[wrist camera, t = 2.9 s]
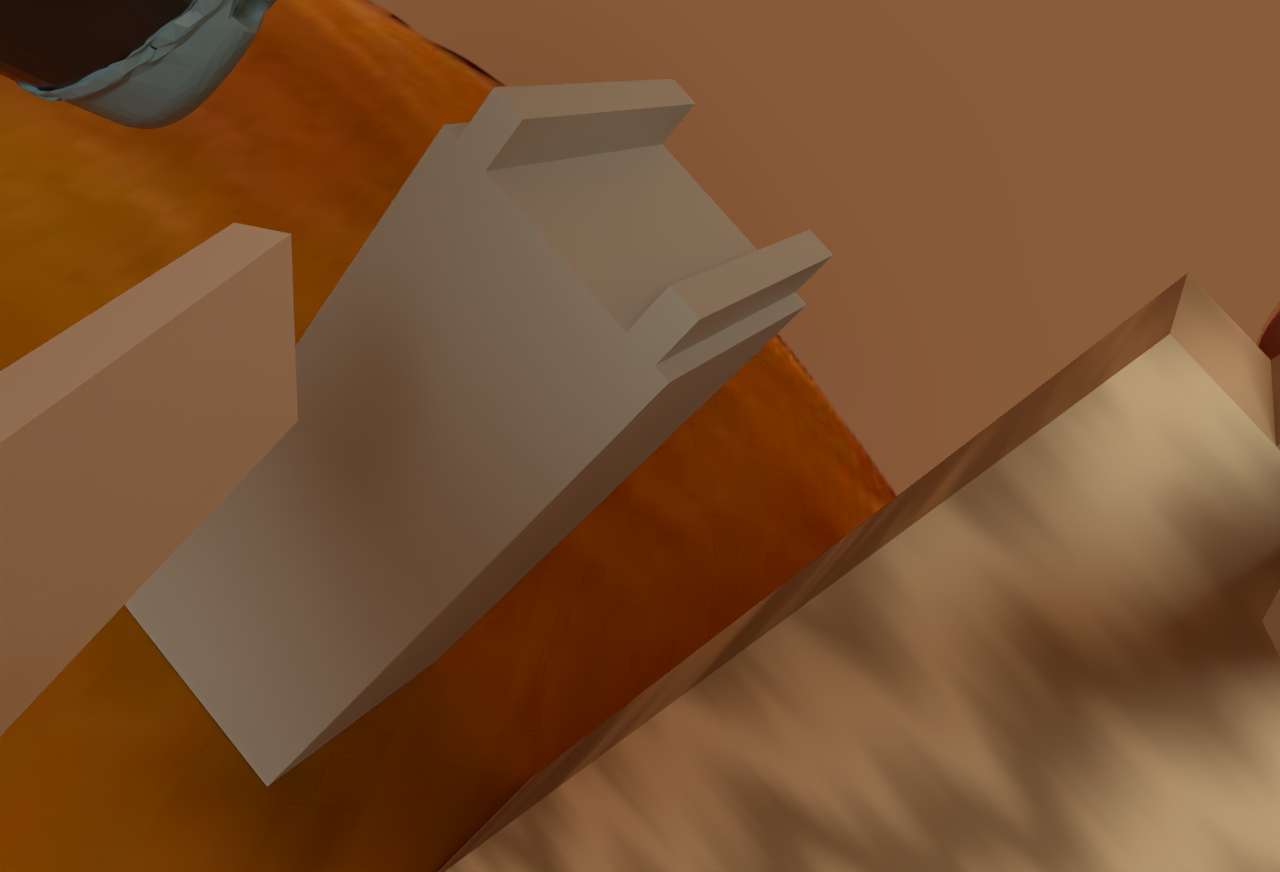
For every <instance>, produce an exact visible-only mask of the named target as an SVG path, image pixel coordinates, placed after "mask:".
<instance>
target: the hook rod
mask: <svg viewBox="0 0 1280 872" xmlns="http://www.w3.org/2000/svg"><path fill="white" fill-rule="evenodd" d="M1256 345H1257V346H1258V347H1259V348H1260V349H1261V350H1262V352H1263V353H1264V354H1265V355H1266V356H1267V357H1268V358H1269V359H1270V360H1272V359H1273V358H1275V357H1276V356H1278V355H1279V354H1280V302H1279V304H1278V305H1277V306H1276V307H1275V309H1274V310H1273V311H1272V313H1271V314H1270V316H1269V318H1268V319H1267V321H1266V323H1265V325H1264V327H1263V328H1262V331H1261V333H1260V336H1259V338H1258V341H1257V344H1256Z"/></svg>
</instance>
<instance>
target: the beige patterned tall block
mask: <svg viewBox="0 0 1280 872" xmlns="http://www.w3.org/2000/svg"><path fill="white" fill-rule="evenodd" d="M1279 589H1280V354H1279V355H1278V356H1276V357H1275V358H1273V359H1272V360H1270V359H1269V358H1268V357H1267V356H1266V355H1265V354H1264V353H1263V352H1262V350H1261V349H1260V348H1259V347H1258V346H1257V345H1256V344H1255V343H1254V342H1253V341H1252V340H1251V339H1250V338H1249V337H1248V336H1247V335H1246V334H1245V333H1244V332H1243V330H1242V329H1241V328H1240V327H1239V326H1238V325H1237V324H1236V323H1235V322H1234V321H1233V320H1232V319H1231V318H1230V317H1229V316H1228V315H1227V314H1226V313H1225V312H1224V311H1223V309H1222V308H1220V306H1219V305H1218V304H1217V303H1216V302H1215V301H1214V300H1213V299H1212V298H1211V297H1210V296H1209V295H1208V294H1207V293H1206V292H1205V291H1204V290H1203V288H1202V287H1201V286H1200V285H1199V284H1198V283H1197V282H1196V281H1195V280H1194V279H1193V278H1192V277H1191V276H1190V275H1189V274H1188V273H1187V274H1186V275H1184V276H1183V277H1182V278H1180V279H1179V280H1178V281H1177V282H1175V283H1174V284H1173V285H1171V286H1170V287H1169V288H1167V289H1166V290H1165V291H1164V292H1162V293H1161V294H1160V295H1158V296H1157V297H1156V298H1154V299H1153V300H1152V301H1151V302H1149V303H1148V304H1147V305H1145V306H1144V307H1143V308H1142V309H1140V310H1139V311H1138V312H1136V313H1135V314H1134V315H1132V316H1131V317H1130V318H1128V319H1127V320H1126V321H1125V322H1123V323H1122V324H1121V325H1119V326H1118V327H1117V328H1115V329H1114V330H1113V331H1112V332H1111V333H1109V334H1108V335H1106V336H1105V337H1104V338H1102V339H1101V340H1100V341H1099V342H1097V343H1096V344H1095V345H1093V346H1092V347H1091V348H1089V349H1088V350H1087V351H1086V352H1084V353H1083V354H1082V355H1080V356H1079V357H1078V358H1077V359H1075V360H1074V361H1073V362H1071V363H1070V364H1069V365H1067V366H1066V367H1065V368H1064V369H1062V370H1061V371H1060V372H1058V373H1057V374H1056V375H1054V376H1053V377H1052V378H1051V379H1049V380H1048V381H1047V382H1045V383H1044V384H1043V385H1041V386H1040V387H1039V388H1038V389H1036V390H1035V391H1034V392H1032V393H1031V394H1030V395H1028V396H1027V397H1026V398H1025V399H1023V400H1022V401H1021V402H1019V403H1018V404H1017V405H1015V406H1014V407H1013V408H1011V409H1010V410H1009V411H1008V412H1006V413H1005V414H1004V415H1003V416H1001V417H1000V418H998V419H997V420H996V421H995V422H993V423H992V424H991V425H989V426H988V427H987V428H985V429H984V430H983V431H982V432H980V433H979V434H978V435H976V436H975V437H974V438H973V439H971V440H970V441H969V442H967V443H966V444H965V445H963V446H962V447H961V448H959V449H958V450H957V451H955V452H954V453H953V454H952V455H950V456H949V457H948V458H946V459H945V460H944V461H942V462H941V463H940V464H939V465H938V466H936V467H935V468H933V469H932V470H931V471H930V472H928V473H927V474H926V475H924V476H923V477H922V478H921V479H919V480H918V481H917V482H915V483H914V484H913V485H911V486H910V487H909V488H907V489H906V490H905V491H903V492H902V493H901V494H900V495H898V496H897V497H896V498H894V499H893V500H892V501H890V502H889V503H888V504H887V505H885V506H884V507H883V508H881V509H880V510H879V511H877V512H876V513H875V514H874V515H872V516H871V517H870V518H868V519H867V520H866V521H864V522H863V523H862V524H861V525H859V526H858V527H857V528H855V529H854V530H853V531H851V532H850V533H849V534H848V535H846V536H845V537H844V538H842V539H841V540H840V541H838V542H837V543H836V544H835V545H833V546H832V547H831V548H829V549H828V550H827V551H825V552H824V553H823V554H822V555H820V556H819V557H818V558H816V559H815V560H814V561H812V562H811V563H810V564H809V565H807V566H806V567H805V568H803V569H802V570H801V571H799V572H798V573H797V574H796V575H794V576H793V577H792V578H790V579H789V580H788V581H786V582H785V583H784V584H783V585H781V586H780V587H779V588H777V589H776V590H775V591H773V592H772V593H771V594H770V595H768V596H767V597H766V598H764V599H763V600H762V601H760V602H759V603H758V604H757V605H755V606H754V607H753V608H751V609H750V610H749V611H747V612H746V613H745V614H744V615H742V616H741V617H740V618H738V619H737V620H736V621H734V622H733V623H732V624H731V625H729V626H728V627H727V628H725V629H724V630H723V631H721V632H720V633H719V634H718V635H716V636H715V637H714V638H712V639H711V640H710V641H708V642H707V643H706V644H705V645H703V646H702V647H701V648H699V649H698V650H697V651H695V652H694V653H693V654H692V655H690V656H689V657H688V658H686V659H685V660H684V661H682V662H681V663H680V664H679V665H677V666H676V667H675V668H673V669H672V670H671V671H669V672H668V673H667V674H666V675H664V676H663V677H662V678H660V679H659V680H658V681H656V682H655V683H654V684H653V685H651V686H650V687H649V688H647V689H646V690H645V691H643V692H642V693H641V694H640V695H638V696H637V697H636V698H634V699H633V700H632V701H630V702H629V703H628V704H627V705H625V706H624V707H623V708H621V709H620V710H619V711H617V712H616V713H615V714H613V715H612V716H611V717H610V718H608V719H607V720H606V721H604V722H603V723H602V724H600V725H599V726H598V727H597V728H595V729H594V730H593V731H591V732H590V733H589V734H587V735H586V736H585V737H584V738H582V739H581V740H580V741H578V742H577V743H576V744H574V745H573V746H572V747H571V748H569V749H568V750H567V751H565V752H564V753H563V754H561V755H560V756H559V757H558V758H556V759H555V760H554V761H552V762H551V763H550V764H548V765H547V766H546V767H545V768H543V769H542V770H541V771H539V772H538V773H537V774H535V775H534V776H533V777H532V778H530V779H529V780H528V781H527V782H526V783H525V784H524V785H523V786H522V787H521V788H520V789H519V790H518V791H517V792H516V793H515V794H514V795H513V796H512V797H511V798H510V799H509V800H508V801H507V802H506V804H505V805H504V806H503V807H502V808H501V809H500V810H499V811H498V812H497V813H496V814H495V815H494V816H493V817H492V818H491V819H490V820H489V821H488V822H487V823H486V824H485V825H484V826H483V827H482V828H481V829H480V830H479V831H478V832H477V833H476V834H475V835H474V836H473V837H472V838H471V839H470V840H469V841H468V842H467V843H466V844H465V845H464V846H463V847H462V848H461V849H460V850H459V851H458V852H457V853H456V854H455V855H454V856H453V857H452V858H451V859H450V860H449V861H448V862H447V863H446V864H445V865H444V866H443V867H442V868H441V869H440V870H439V871H438V872H1280V656H1279V654H1278V652H1277V650H1276V648H1275V646H1274V644H1273V642H1272V640H1271V638H1270V636H1269V634H1268V632H1267V630H1266V628H1265V626H1264V624H1263V622H1262V620H1263V618H1264V617H1265V615H1266V613H1267V611H1268V609H1269V607H1270V606H1271V604H1272V602H1273V600H1274V598H1275V596H1276V595H1277V593H1278V591H1279Z"/></svg>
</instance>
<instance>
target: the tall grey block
mask: <svg viewBox="0 0 1280 872" xmlns="http://www.w3.org/2000/svg"><path fill="white" fill-rule="evenodd" d="M694 105H695V103H694V102H693V101H692V100H691V98H690V97H689V96H688V95H687V94H686V93H685V92H684V91H683V89H682V88H680V86H679V85H678V84H677V83H676V82H675V81H674V80H673V79H663V80H641V81H617V82H595V83H574V84H553V85H552V84H550V85H528V86H506V87H494V88H493V89H492V91H491V92H490V93H489V95H488V96H487V98H486V99H485V101H484V102H483V104H482V105H481V107H480V108H479V110H478V111H477V112H476V114H475V115H474V117H473V118H472V120H471V121H470V122H464V123H452V124H444V125H443V126H442V128H441V129H440V131H439V132H438V134H437V135H436V137H435V138H434V140H433V141H432V143H431V144H430V146H429V147H428V149H427V150H426V152H425V153H424V155H423V156H422V158H421V159H420V161H419V162H418V164H417V165H416V167H415V168H414V170H413V171H412V173H411V174H410V176H409V177H408V179H407V180H406V182H405V183H404V185H403V186H402V188H401V189H400V191H399V192H398V194H397V195H396V197H395V198H394V200H393V201H392V203H391V204H390V206H389V207H388V209H387V210H386V212H385V213H384V215H383V216H382V218H381V219H380V221H379V222H378V224H377V225H376V227H375V228H374V230H373V231H372V233H371V234H370V236H369V237H368V239H367V240H366V242H365V243H364V245H363V246H362V247H361V249H360V250H359V252H358V253H357V255H356V256H355V258H354V259H353V261H352V262H351V264H350V265H349V267H348V268H347V270H346V271H345V273H344V274H343V276H342V277H341V279H340V280H339V282H338V283H337V285H336V286H335V288H334V289H333V291H332V292H331V294H330V295H329V297H328V298H327V300H326V301H325V303H324V304H323V306H322V307H321V309H320V310H319V312H318V313H317V315H316V316H315V318H314V319H313V321H312V322H311V324H310V325H309V327H308V328H307V330H306V331H305V333H304V334H303V336H302V337H301V339H300V340H299V342H298V343H297V345H296V346H295V356H296V384H297V411H298V421H297V422H296V423H295V424H294V425H293V426H292V427H291V428H290V429H289V431H288V432H287V433H286V434H285V435H284V436H283V437H282V438H281V439H280V440H279V441H278V442H277V443H276V444H275V445H274V446H273V448H272V449H271V450H270V451H269V452H268V453H267V454H266V455H265V456H264V457H263V458H262V459H261V460H260V461H259V462H258V463H257V464H256V466H255V467H254V468H253V469H252V470H251V471H250V472H249V473H248V474H247V475H246V476H245V477H244V478H243V479H242V480H241V481H240V482H239V484H238V485H237V486H236V487H235V488H234V489H233V490H232V491H231V492H230V493H229V494H228V495H227V496H226V497H225V498H224V499H223V501H222V502H221V503H220V504H219V505H218V506H217V507H216V508H215V509H214V510H213V511H212V512H211V513H210V514H209V515H208V516H207V517H206V519H205V520H204V521H203V522H202V523H201V524H200V525H199V526H198V527H197V528H196V529H195V530H194V531H193V532H192V533H191V534H190V536H189V537H188V538H187V539H186V540H185V541H184V542H183V543H182V544H181V545H180V546H179V547H178V548H177V549H176V550H175V551H174V552H173V554H172V555H171V556H170V557H169V558H168V559H167V560H166V561H165V562H164V563H163V564H162V565H161V566H160V567H159V568H158V569H157V571H156V572H155V573H154V574H153V575H152V576H151V577H150V578H149V579H148V580H147V581H146V582H145V583H144V584H143V585H142V586H141V587H140V589H139V590H138V591H137V592H136V593H135V594H134V595H133V596H132V597H131V598H130V599H129V600H128V601H127V602H126V603H125V604H124V605H125V606H126V607H127V609H128V610H129V611H130V613H131V614H132V615H133V616H134V618H135V619H136V620H137V622H138V623H139V624H140V625H141V627H142V628H143V629H144V630H145V632H146V633H147V634H148V636H149V637H150V638H151V639H152V641H153V642H154V643H155V644H156V646H157V647H158V648H159V650H160V651H161V652H162V653H163V655H164V656H165V657H166V659H167V660H168V661H169V662H170V664H171V665H172V666H173V667H174V669H175V670H176V671H177V673H178V674H179V675H180V676H181V678H182V679H183V680H184V681H185V683H186V684H187V685H188V687H189V688H190V689H191V690H192V692H193V693H194V694H195V696H196V697H197V698H198V699H199V701H200V702H201V703H202V704H203V706H204V707H205V708H206V710H207V711H208V712H209V713H210V715H211V716H212V717H213V719H214V720H215V721H216V722H217V724H218V725H219V726H220V727H221V729H222V730H223V731H224V733H225V734H226V735H227V736H228V738H229V739H230V740H231V741H232V743H233V744H234V745H235V747H236V748H237V749H238V750H239V752H240V753H241V754H242V756H243V757H244V758H245V759H246V761H247V762H248V763H249V764H250V766H251V767H252V768H253V770H254V771H255V772H256V773H257V775H258V776H259V777H260V779H261V780H262V781H263V782H264V784H265V785H266V786H267V787H268V786H269V785H271V784H272V783H273V782H275V781H276V780H277V779H279V778H280V777H281V776H283V775H284V774H285V773H287V772H288V771H289V770H291V769H292V768H293V767H295V766H296V765H297V764H299V763H300V762H301V761H303V760H304V759H306V758H307V757H308V756H310V755H311V754H312V753H314V752H315V751H316V750H318V749H319V748H320V747H322V746H323V745H324V744H326V743H327V742H328V741H330V740H331V739H332V738H334V737H335V736H336V735H338V734H339V733H340V732H342V731H343V730H344V729H346V728H347V727H348V726H350V725H351V724H352V723H354V722H355V721H356V720H358V719H359V718H361V717H362V716H363V715H365V714H366V713H367V712H369V711H370V710H371V709H373V708H374V707H375V706H377V705H378V704H379V703H381V702H382V701H383V700H385V699H386V698H387V697H389V696H390V695H391V694H393V693H394V692H395V691H397V690H398V689H399V688H401V687H402V686H403V685H405V684H406V683H407V682H409V681H410V680H412V679H413V678H414V677H416V676H417V675H418V674H420V673H421V672H422V671H424V670H425V669H426V668H428V667H429V666H430V665H432V664H433V663H434V662H436V661H437V660H438V659H439V658H440V657H441V656H442V655H443V654H444V653H445V652H446V651H447V650H448V649H449V648H450V647H451V646H452V645H453V644H454V643H455V642H456V641H457V640H459V639H460V638H461V637H462V636H463V635H464V634H465V633H466V632H467V631H468V630H469V629H470V628H471V627H472V626H473V625H474V624H475V623H476V622H477V621H478V620H479V619H480V618H481V617H482V616H483V615H485V614H486V613H487V612H488V611H489V610H490V609H491V608H492V607H493V606H494V605H495V604H496V603H497V602H498V601H499V600H500V599H501V598H502V597H503V596H504V595H505V594H506V593H507V592H508V591H509V590H511V589H512V588H513V587H514V586H515V585H516V584H517V583H518V582H519V581H520V580H521V579H522V578H523V577H524V576H525V575H526V574H527V573H528V572H529V571H530V570H531V569H532V568H533V567H534V566H535V565H537V564H538V563H539V562H540V561H541V560H542V559H543V558H544V557H545V556H546V555H547V554H548V553H549V552H550V551H551V550H552V549H553V548H554V547H555V546H556V545H557V544H558V543H559V542H560V541H561V540H563V539H564V538H565V537H566V536H567V535H568V534H569V533H570V532H571V531H572V530H573V529H574V528H575V527H576V526H577V525H578V524H579V523H580V522H581V521H582V520H583V519H584V518H585V517H586V516H587V515H589V514H590V513H591V512H592V511H593V510H594V509H595V508H596V507H597V506H598V505H599V504H600V503H601V502H602V501H603V500H604V499H605V498H606V497H607V496H608V495H609V494H610V493H611V492H612V491H613V490H615V489H616V488H617V487H618V486H619V485H620V484H621V483H622V482H623V481H624V480H625V479H626V478H627V477H628V476H629V475H630V474H631V473H632V472H633V471H634V470H635V469H636V468H637V467H638V466H639V465H641V464H642V463H643V462H644V461H645V460H646V459H647V458H648V457H649V456H650V455H651V454H652V453H653V452H654V451H655V450H656V449H657V448H658V447H659V446H660V445H661V444H662V443H663V442H664V441H665V440H667V439H668V438H669V437H670V436H671V435H672V434H673V433H674V432H675V431H676V430H677V429H678V428H679V427H680V426H681V425H682V424H683V423H684V422H685V421H686V420H687V419H688V418H689V417H690V416H691V415H693V414H694V413H695V412H696V411H697V410H698V409H699V408H700V407H701V406H702V405H703V404H704V403H705V402H706V401H707V400H708V399H709V398H710V397H711V396H712V395H713V394H714V393H715V392H716V391H717V390H719V389H720V388H721V387H722V386H723V385H724V384H725V383H726V382H727V381H728V380H729V379H730V378H731V377H732V376H733V375H734V374H735V373H736V372H737V371H738V370H739V369H740V368H741V367H742V366H743V365H745V364H746V363H747V362H748V361H749V360H750V359H751V358H752V357H753V356H754V355H755V354H756V353H757V352H758V351H759V350H760V349H761V348H762V347H763V346H764V345H765V344H766V343H767V342H768V341H769V340H771V339H772V338H773V337H774V336H775V335H776V334H777V333H778V332H779V331H780V330H781V329H782V328H783V327H784V326H785V325H786V324H787V323H788V322H789V321H790V320H791V319H792V318H793V317H794V316H795V315H797V314H798V312H800V311H801V310H802V309H803V308H804V307H805V306H806V304H805V303H804V302H803V300H802V299H801V298H800V297H799V296H798V295H797V294H796V293H795V292H796V291H797V290H798V289H799V288H800V287H801V286H802V285H803V284H804V283H805V282H806V281H807V280H808V279H809V278H810V277H811V276H812V275H813V274H814V273H815V272H816V271H817V270H818V269H819V268H820V267H821V266H823V265H824V264H825V263H826V261H827V260H829V259H830V258H831V257H832V254H831V253H830V251H829V250H827V248H826V247H825V246H824V245H823V244H822V243H821V242H820V240H819V239H818V238H817V237H816V236H815V235H814V234H813V233H812V232H811V231H810V230H807V231H805V232H802V233H800V234H797V235H795V236H792V237H790V238H787V239H785V240H782V241H780V242H778V243H775V244H773V245H770V246H767V247H765V248H762V249H760V250H757V249H756V248H755V247H754V246H753V245H752V244H751V243H750V241H749V240H748V239H747V238H746V237H745V236H744V235H743V234H742V233H741V232H740V231H739V229H738V228H737V227H736V226H735V225H734V224H733V223H732V222H731V220H730V219H729V218H728V217H727V216H726V215H725V214H724V213H723V211H722V210H721V209H720V208H719V207H718V206H717V205H716V204H715V203H714V202H713V200H712V199H711V198H710V197H709V196H708V195H707V194H706V193H705V192H704V190H703V189H702V188H701V187H700V186H699V185H698V184H697V182H696V181H694V179H693V178H692V177H691V176H690V175H689V174H688V172H687V171H686V170H685V169H684V168H683V167H682V166H681V165H680V164H679V162H677V160H676V159H675V158H674V157H673V156H672V155H671V154H670V152H669V151H668V150H667V149H666V148H665V147H664V146H663V145H662V143H663V142H664V141H665V140H666V139H667V137H668V136H669V135H670V134H671V133H672V131H673V130H674V129H675V128H676V127H677V125H678V124H679V123H680V122H681V120H682V119H683V118H684V117H685V116H686V114H687V113H688V112H689V111H690V110H691V108H692V107H693V106H694Z"/></svg>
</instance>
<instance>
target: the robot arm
mask: <svg viewBox="0 0 1280 872" xmlns="http://www.w3.org/2000/svg"><path fill="white" fill-rule="evenodd" d="M275 2H276V0H0V74H1V75H4V76H6V77H8V78H10V79H12V80H14V81H16V83H17V84H18V86H20V87H21V88H23V89H25V90H26V91H28V92H30V93H32V94H33V95H35V96H38V97H40V98H43V99H45V100H51V101H65V102H68V103H70V104H73V105H75V106H77V107H80V108H82V109H85V110H87V111H90V112H92V113H94V114H97V115H99V116H102V117H104V118H106V119H109V120H111V121H114V122H116V123H119V124H121V125H124V126H128V127H133V128H141V129H151V128H159V127H163V126H167V125H170V124H172V123H175V122H177V121H179V120H181V119H182V118H184V117H186V116H187V115H189V114H190V113H191V112H193V111H194V110H195V109H196V108H198V107H199V106H200V105H201V104H202V103H203V102H204V101H205V100H206V99H207V98H208V97H209V96H210V95H211V94H212V93H213V92H214V91H215V90H216V89H217V87H218V86H219V85H220V84H221V83H222V82H223V80H224V79H225V78H226V77H227V75H228V74H229V73H230V72H231V71H232V69H233V68H234V67H235V66H236V64H237V63H238V62H239V60H240V59H241V57H242V56H243V55H244V53H245V52H246V50H247V49H248V47H249V46H250V44H251V43H252V41H253V40H254V38H255V37H256V35H257V33H258V31H259V28H260V26H261V23H262V20H263V16H264V12H265V11H266V10H268V9H269V8H270V7H271V6H272V5H273V4H274V3H275ZM297 421H298V411H297V384H296V356H295V328H294V300H293V272H292V245H291V234H290V233H285V232H280V231H275V230H270V229H264V228H259V227H254V226H249V225H244V224H238V223H233V224H231V225H230V226H228V227H226V228H225V229H223V230H222V231H220V232H219V233H217V234H215V235H214V236H212V237H211V238H209V239H208V240H206V241H204V242H203V243H201V244H200V245H198V246H197V247H195V248H193V249H192V250H190V251H189V252H187V253H186V254H184V255H182V256H181V257H179V258H178V259H176V260H175V261H173V262H171V263H170V264H168V265H167V266H165V267H164V268H162V269H160V270H159V271H157V272H156V273H154V274H153V275H151V276H149V277H148V278H146V279H145V280H143V281H142V282H140V283H138V284H137V285H135V286H134V287H132V288H131V289H129V290H127V291H126V292H124V293H123V294H121V295H120V296H118V297H116V298H115V299H113V300H112V301H110V302H109V303H107V304H105V305H104V306H102V307H101V308H99V309H98V310H96V311H94V312H93V313H91V314H90V315H88V316H87V317H85V318H83V319H82V320H80V321H79V322H77V323H76V324H74V325H72V326H71V327H69V328H68V329H66V330H65V331H63V332H61V333H60V334H58V335H57V336H55V337H54V338H52V339H50V340H49V341H47V342H46V343H44V344H43V345H41V346H39V347H38V348H36V349H35V350H33V351H32V352H30V353H28V354H27V355H25V356H24V357H22V358H21V359H19V360H17V361H16V362H14V363H13V364H11V365H10V366H8V367H6V368H5V369H3V370H2V371H0V736H1V735H2V734H3V733H4V732H5V731H6V730H7V728H8V727H9V726H10V725H11V724H12V723H13V722H14V721H15V720H16V719H17V718H18V717H19V716H20V715H21V714H22V713H23V712H24V710H25V709H26V708H27V707H28V706H29V705H30V704H31V703H32V702H33V701H34V700H35V699H36V698H37V697H38V696H39V695H40V694H41V692H42V691H43V690H44V689H45V688H46V687H47V686H48V685H49V684H50V683H51V682H52V681H53V680H54V679H55V678H56V677H57V675H58V674H59V673H60V672H61V671H62V670H63V669H64V668H65V667H66V666H67V665H68V664H69V663H70V662H71V661H72V660H73V659H74V657H75V656H76V655H77V654H78V653H79V652H80V651H81V650H82V649H83V648H84V647H85V646H86V645H87V644H88V643H89V642H90V640H91V639H92V638H93V637H94V636H95V635H96V634H97V633H98V632H99V631H100V630H101V629H102V628H103V627H104V626H105V625H106V624H107V622H108V621H109V620H110V619H111V618H112V617H113V616H114V615H115V614H116V613H117V612H118V611H119V610H120V609H121V608H122V607H123V606H124V604H125V603H126V602H127V601H128V600H129V599H130V598H131V597H132V596H133V595H134V594H135V593H136V592H137V591H138V590H139V589H140V587H141V586H142V585H143V584H144V583H145V582H146V581H147V580H148V579H149V578H150V577H151V576H152V575H153V574H154V573H155V572H156V571H157V569H158V568H159V567H160V566H161V565H162V564H163V563H164V562H165V561H166V560H167V559H168V558H169V557H170V556H171V555H172V554H173V552H174V551H175V550H176V549H177V548H178V547H179V546H180V545H181V544H182V543H183V542H184V541H185V540H186V539H187V538H188V537H189V536H190V534H191V533H192V532H193V531H194V530H195V529H196V528H197V527H198V526H199V525H200V524H201V523H202V522H203V521H204V520H205V519H206V517H207V516H208V515H209V514H210V513H211V512H212V511H213V510H214V509H215V508H216V507H217V506H218V505H219V504H220V503H221V502H222V501H223V499H224V498H225V497H226V496H227V495H228V494H229V493H230V492H231V491H232V490H233V489H234V488H235V487H236V486H237V485H238V484H239V482H240V481H241V480H242V479H243V478H244V477H245V476H246V475H247V474H248V473H249V472H250V471H251V470H252V469H253V468H254V467H255V466H256V464H257V463H258V462H259V461H260V460H261V459H262V458H263V457H264V456H265V455H266V454H267V453H268V452H269V451H270V450H271V449H272V448H273V446H274V445H275V444H276V443H277V442H278V441H279V440H280V439H281V438H282V437H283V436H284V435H285V434H286V433H287V432H288V431H289V429H290V428H291V427H292V426H293V425H294V424H295V423H296V422H297ZM1262 622H1263V624H1264V626H1265V628H1266V630H1267V632H1268V634H1269V636H1270V638H1271V640H1272V642H1273V644H1274V646H1275V648H1276V650H1277V652H1278V654H1279V656H1280V589H1279V591H1278V593H1277V595H1276V596H1275V598H1274V600H1273V602H1272V604H1271V606H1270V607H1269V609H1268V611H1267V613H1266V615H1265V617H1264V618H1263V620H1262Z"/></svg>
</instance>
